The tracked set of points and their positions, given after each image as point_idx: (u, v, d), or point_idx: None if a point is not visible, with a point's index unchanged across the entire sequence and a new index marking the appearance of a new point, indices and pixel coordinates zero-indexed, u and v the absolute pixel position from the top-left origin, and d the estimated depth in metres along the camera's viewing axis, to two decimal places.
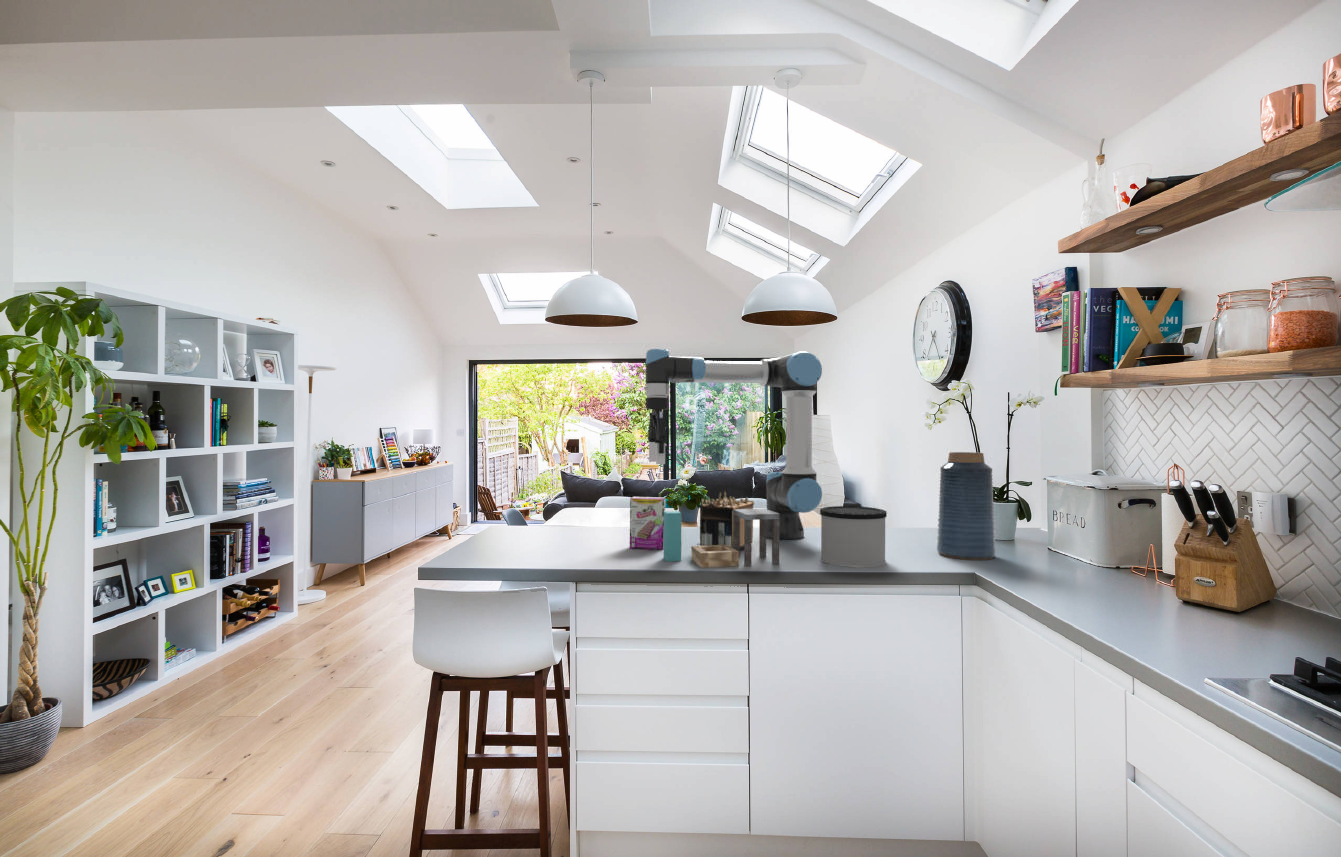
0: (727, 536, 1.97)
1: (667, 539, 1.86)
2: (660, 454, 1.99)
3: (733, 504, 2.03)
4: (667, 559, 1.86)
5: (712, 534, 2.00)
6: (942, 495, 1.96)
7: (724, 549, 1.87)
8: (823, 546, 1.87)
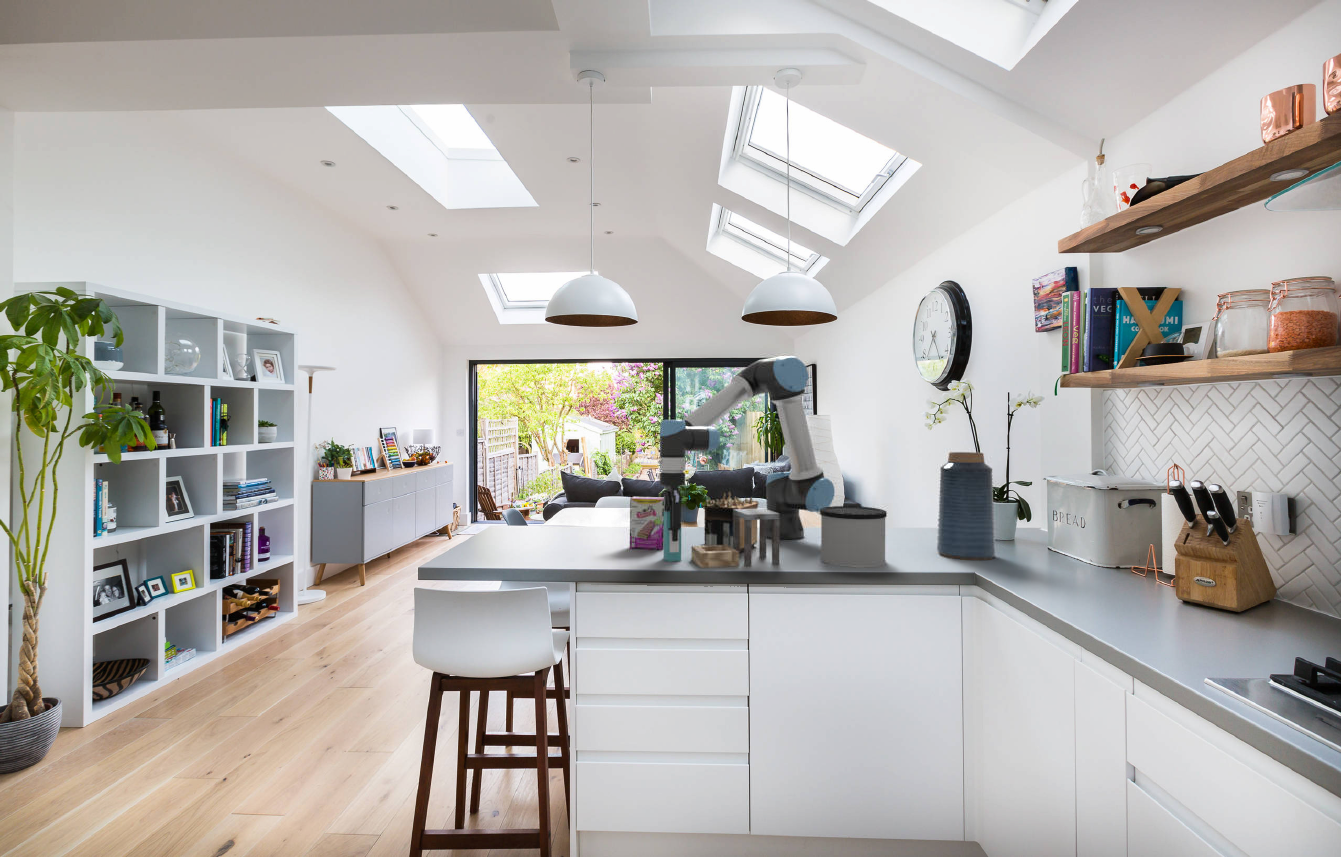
0: (732, 537, 1.96)
1: (667, 539, 1.86)
2: (674, 542, 1.86)
3: (738, 504, 2.02)
4: (667, 559, 1.86)
5: (717, 534, 1.99)
6: (942, 495, 1.96)
7: (724, 549, 1.87)
8: (823, 546, 1.87)
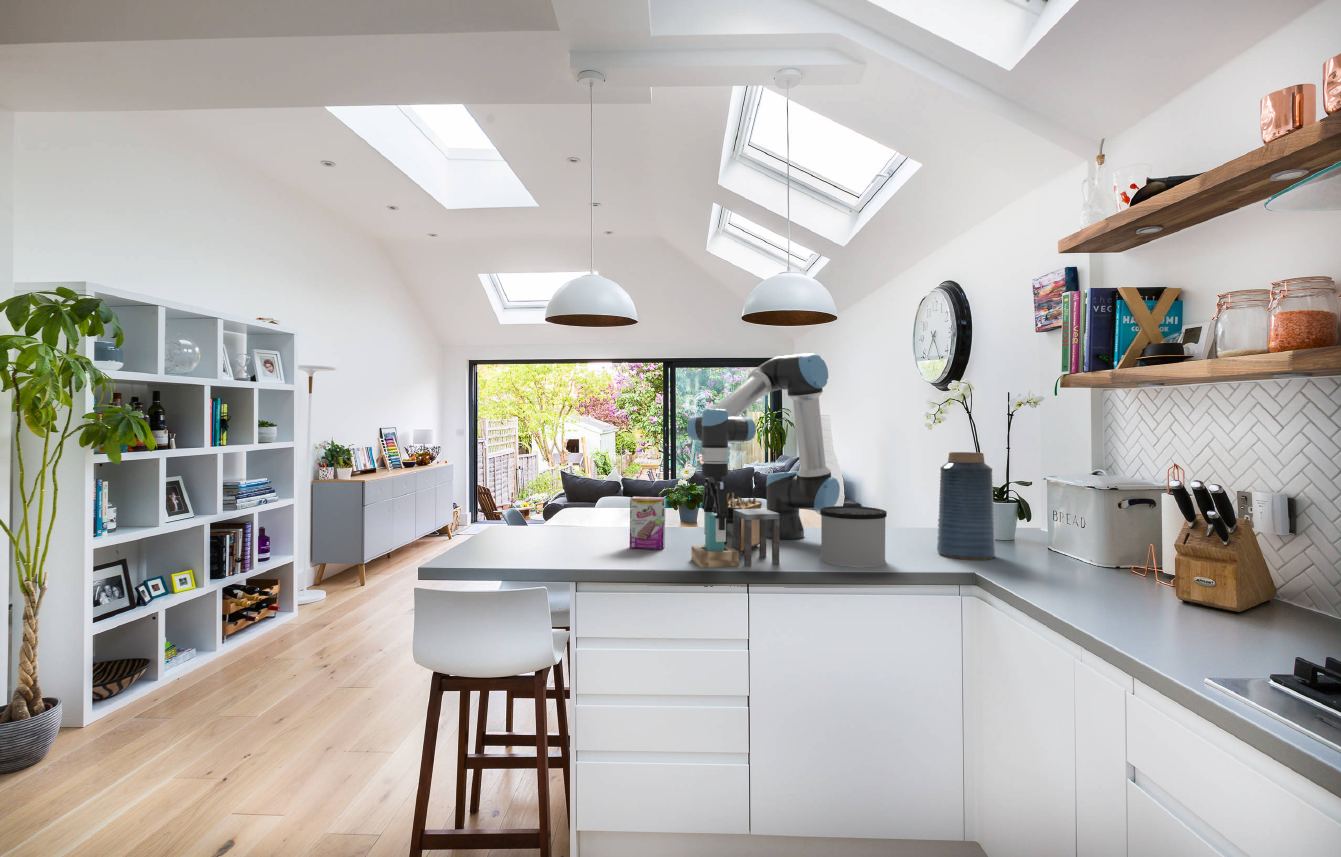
0: None
1: (710, 542, 1.82)
2: (720, 530, 1.78)
3: (741, 505, 2.01)
4: None
5: None
6: (942, 495, 1.96)
7: (724, 549, 1.87)
8: (823, 546, 1.87)
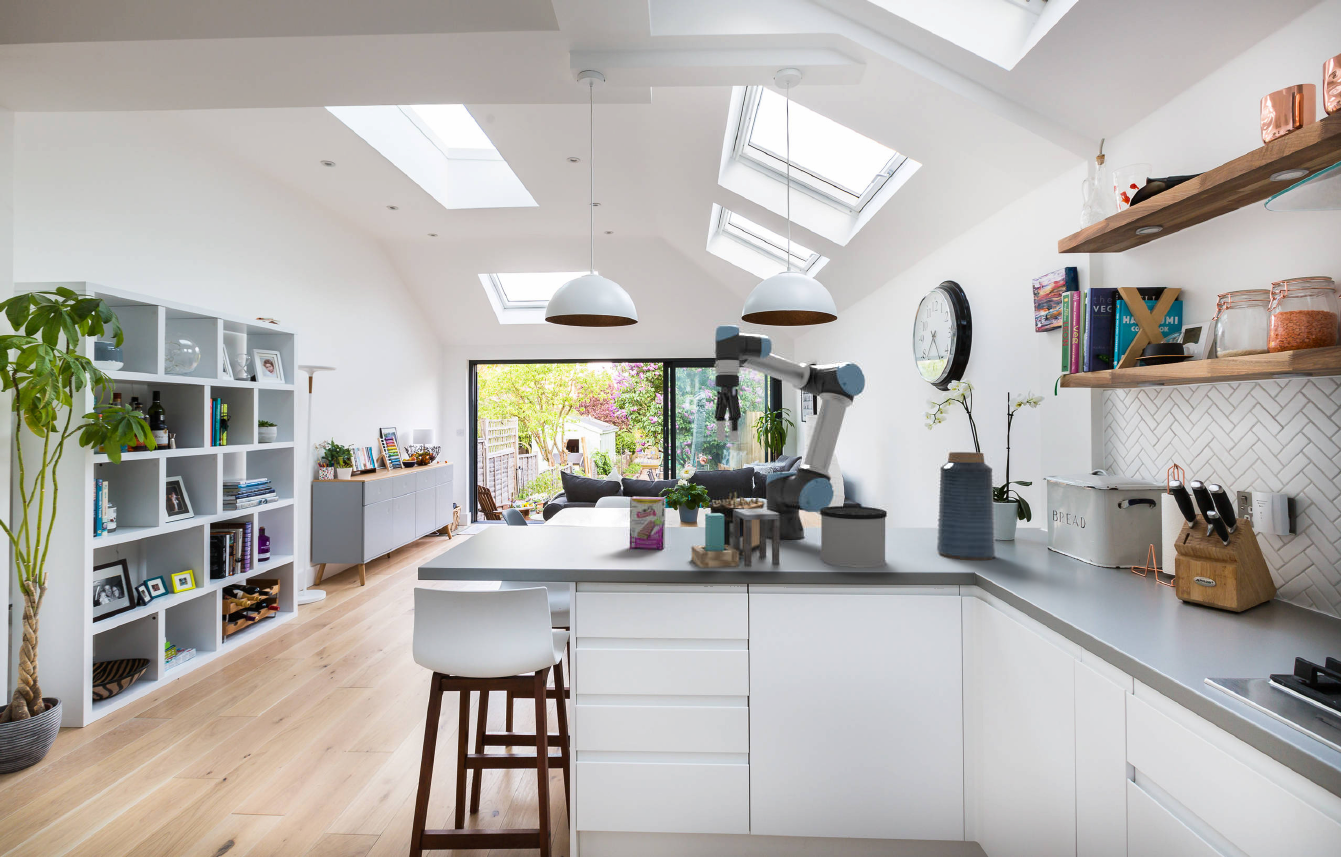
0: None
1: (710, 542, 1.82)
2: (733, 432, 1.96)
3: (744, 505, 2.01)
4: None
5: None
6: (942, 495, 1.96)
7: (724, 549, 1.87)
8: (823, 546, 1.87)
